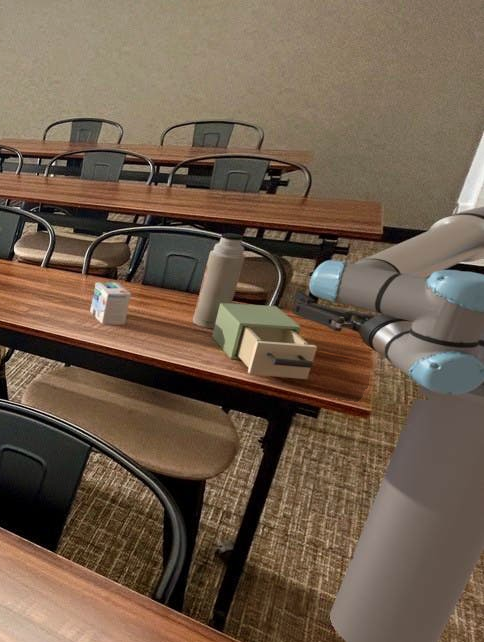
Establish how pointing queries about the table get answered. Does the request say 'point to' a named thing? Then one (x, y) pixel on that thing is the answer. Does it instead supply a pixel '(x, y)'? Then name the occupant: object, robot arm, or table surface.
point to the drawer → (275, 352)
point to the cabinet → (246, 323)
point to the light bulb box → (110, 303)
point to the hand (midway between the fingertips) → (337, 298)
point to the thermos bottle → (219, 279)
